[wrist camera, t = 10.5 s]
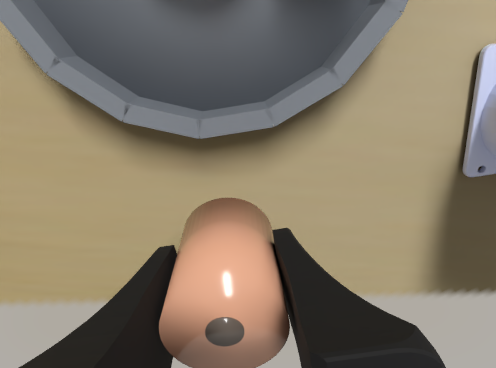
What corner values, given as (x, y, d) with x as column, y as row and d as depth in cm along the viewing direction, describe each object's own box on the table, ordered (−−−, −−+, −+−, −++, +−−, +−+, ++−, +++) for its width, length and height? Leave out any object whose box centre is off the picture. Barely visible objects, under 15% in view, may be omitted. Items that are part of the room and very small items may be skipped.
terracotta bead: (266, 190, 13) (282, 272, 9) (277, 265, 15) (295, 366, 11) (173, 205, 14) (141, 293, 9) (194, 277, 15) (176, 382, 11)
